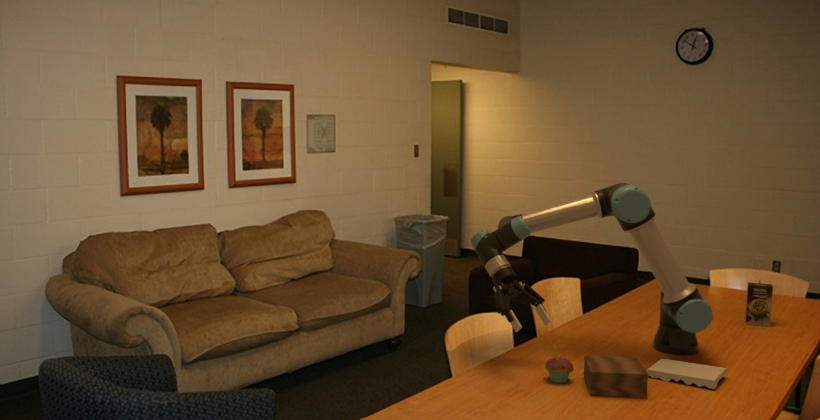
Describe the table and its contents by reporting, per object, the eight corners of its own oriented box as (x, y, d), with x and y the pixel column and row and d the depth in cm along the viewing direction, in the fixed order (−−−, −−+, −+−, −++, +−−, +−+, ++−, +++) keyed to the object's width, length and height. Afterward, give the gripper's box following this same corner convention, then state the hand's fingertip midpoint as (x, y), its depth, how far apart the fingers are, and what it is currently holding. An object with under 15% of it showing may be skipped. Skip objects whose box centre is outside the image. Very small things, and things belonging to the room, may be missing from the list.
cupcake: (556, 386, 225) (557, 347, 224) (538, 378, 233) (540, 340, 231) (578, 382, 229) (580, 344, 228) (561, 374, 237) (562, 337, 235)
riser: (636, 379, 232) (637, 357, 232) (646, 398, 216) (647, 374, 216) (583, 377, 234) (584, 355, 233) (590, 395, 218) (591, 371, 217)
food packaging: (646, 380, 235) (714, 391, 223) (647, 369, 234) (714, 380, 223) (661, 368, 247) (726, 378, 235) (661, 358, 247) (726, 368, 235)
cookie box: (745, 324, 299) (747, 284, 298) (744, 320, 305) (747, 281, 304) (770, 327, 296) (773, 286, 294) (769, 323, 302) (772, 283, 300)
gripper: (520, 274, 258) (553, 326, 248) (467, 283, 242) (499, 339, 232) (532, 261, 253) (566, 314, 243) (479, 269, 238) (512, 326, 228)
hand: (533, 326), depth 238 cm, fingers open, 13 cm apart
